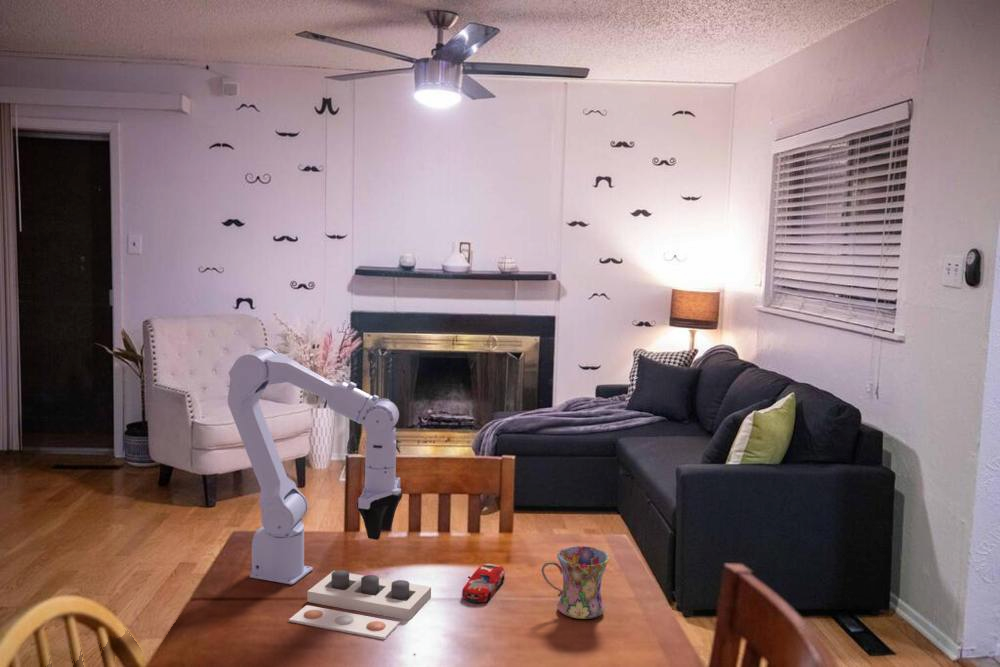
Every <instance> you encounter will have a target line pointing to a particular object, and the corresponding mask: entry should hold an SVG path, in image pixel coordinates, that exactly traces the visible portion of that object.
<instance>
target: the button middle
mask: <svg viewBox="0 0 1000 667" xmlns="http://www.w3.org/2000/svg"><path fill="white" fill-rule="evenodd" d="M379 578H380V577H379V576H377V575H374V574H367V575H363V577H362V578H361V593H362V594H368V595H374V596H376V595H375V594H377V593H378V592H379Z"/></svg>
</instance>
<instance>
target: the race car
mask: <svg viewBox="0 0 1000 667" xmlns="http://www.w3.org/2000/svg"><path fill="white" fill-rule="evenodd" d="M505 575H506V574H505V569H504V567H503V566H502V565H500V564H494V563H484V564H482V565H480V566H479V567H478V568H477V569H476V570H475V571H474V573H473V574H472V575H471V576H469V575H468V576H467V578H468V579H469V580H468V581H467V583H465V585H464V587H463V588H462V591H461V596H462V597H461V598H463V600H466V601H468V602H472V603H485V602H486V603H489V601H490V600H491V598H492V597H493V596H494V595H495V594H496V592H497V591H498V590H499V588H500V587H501V586H502V585H503V584H504V581H505V579H506V578H505Z"/></svg>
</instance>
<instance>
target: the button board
mask: <svg viewBox="0 0 1000 667" xmlns="http://www.w3.org/2000/svg"><path fill="white" fill-rule="evenodd" d="M334 571H335V570H333V571H331V572H330V573H329V574H327V575H326V576H325V577H324V578H323V579H321V580H320V581H319V582H317V583H315V585H314V586H312V587H311V588H309V589H308V590H307V591H306V592H307V595H306V596H307V599H306V600H307V601H306V602H307V603H312V604H318V605H324V606H327V607H328V606H329V607H335V608H340V609H344V610H350V611H351V610H352V611H356V612H362V613H367V614H372V615H379V616H385V617H390V618H396V619H399V620H407V621H410V620H412V618H414V616H415V615H416V614H417V613H418V612H419V611H420V610H421V608H422V607H424V606H425V604H427V603H428V602H429V600H430V599H431V597H432V586H428V585H427V586H426V585H421V584H416V583H410V582H409V598H408V599H407V600H403V601H402V600H397V599H392V598H391V584H392V582H394V581H395V580H392V579H387V578H380V577H379V592H378V593H377V594H375V595H368V594H362V593H361V578H362V577H363V576H364V575H363V574H362V575H361V574H356V573H351V572H349V588H347V589H345V590H340V589H334V588H332V573H333V572H334Z"/></svg>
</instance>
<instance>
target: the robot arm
mask: <svg viewBox="0 0 1000 667" xmlns="http://www.w3.org/2000/svg"><path fill="white" fill-rule="evenodd" d="M228 375H229V378H230V379H229V385H228V386H229V387H228V395H227V405H228V408H229V411H230V412H231V416H232V418H233V421H234V423H235V425H236V428H237V431H238V434H239V436H240V439H241V441H242V444H243V447H244V449H245V452H246V454H247V456H248V460H249V461H250V464H251V467H252V469H253V472H254V475H255V478H256V481H257V482H258V486H259V487H260V494H259V500H258V501H259V502H258V504H259V506H260V509H261V518H260V519H261V521H260V522H261V525H262V526H261V527H259V528H257V530H256V531H255V532H254V534H253V536H252V541H251V573H250V574H249V578H251V579H252V578H253V579H257V580H263V581H264V580H265V581H269V582H275V583H280V584H286V585H294V584H296V583H297V582H298V581H300V580H301V579H303V577H305V576H306V575H307V574H309V573H310V572H311V571H313V568H314V567H312V566H308V565H305V525H304V523H303V518H304V517H305V516H306V514H307V512H308V510H309V508H308V506H309V504H308V500H307V498H306V497H305V495H304V494H303V493H302V492H301V491H300V490H299V489H298V487H297V484H296V482H295V481H293V479H291V478H290V477H288V475H287V473H286V470H285V468H284V465H283V462H282V459H281V457H280V454H279V451H278V449H277V446H276V444H275V441H274V439H273V436H272V433H271V431H270V428H269V426H268V424H267V420H266V418H265V415H264V412H263V409H262V407H261V405H260V403H259V402H260V399H261V397H262V395H263V394H264V392H265V390H266V387H268V386H269V385H274V384H275V385H277V384H283V383H288V384H291V385H293V386H295V387H298V388H300V389H302V390H305V391H306V392H309V393H310V394H313V395H315V396H317V397H320V398H321V399H325V400H326V403H327V405H328V408H329V409H330V410H331V411H333V412H336V413H337V414H339V415H341V416H344V417H345V418H347V419H349V420H351V421H353V422H355V423H357V424H359V425H362V428H363V429H364V431H365V433H366V434H365V437H366V438H365V452H364V453H365V455H364V456H365V458H364V460H365V464H364V466H365V468H364V469H365V470H364V473H365V474H364V487H363V489H362V492H361V494H360V496H359V497H358V498H357V500H358V501H357V503H356V508H357V510H358V512H359V514H360V516H361V517H362V521H363V523H364V527H365V532H366V536H367V539H370V540H376V541H378V540H380V538H381V533H382V531H386V532H387V531H388V532H390V530H392V526H393V522H394V519H395V518H394V517H395V513H396V511H397V508H398V505H399V503H400V501H401V500H402V497H403V493H402V489H401V477H400V476H399V477H397V474H396V473H397V472H396V469H397V468H396V467H397V465H396V464H397V440H396V436H397V433H396V432H397V430H396V428H397V427H395V426H396V424H397V423H398V421H399V418H400V411H399V409H398V407H397V406H398V405H396V404H395V403H394V402H393V401H391V400H390V399H389V398H380V397H379V396H378V395H376V394H374V395H371V394H369V393H367V392H365V391H364V390H362V389H359V388H357V383H355V382H353V381H350V382H348V383H347V382H346V381H342V382H339V383H333V382H332V381H331V380H328V379H327V378H325V377H323V376H322V375H319V374H318V373H316V372H315V371H314V370H311V369H310V368H307V367H306V366H304V365H302V364H301V363H299V362H297V361H295V360H294V359H292V358H291V357H289V356H288V355H287V354H284V353H281V352H277V351H276V350H274V349H273V348H270V347H260V348H258V349H256V350H254V351H253V352H250V353H248V354H243V355H241V356H239V357H238V358H237V359H236V360H235V361H234V363H233V365H232V367H231V368H230V370H229V371H228Z"/></svg>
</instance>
